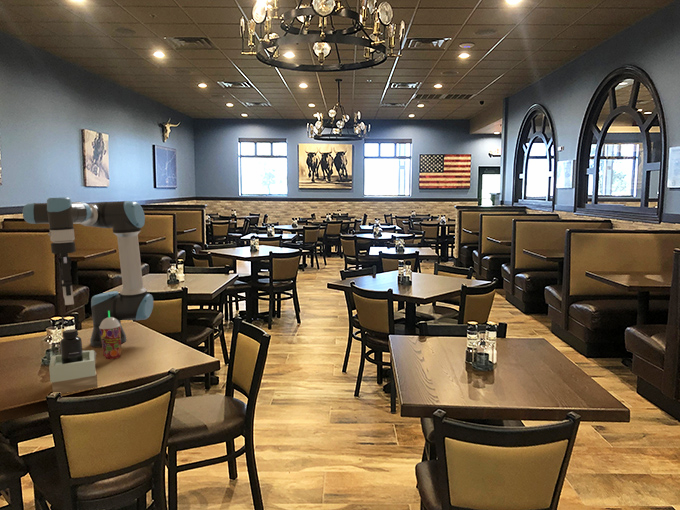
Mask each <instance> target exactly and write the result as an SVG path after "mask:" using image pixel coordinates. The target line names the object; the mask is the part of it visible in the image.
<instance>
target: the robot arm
mask: <svg viewBox="0 0 680 510" xmlns="http://www.w3.org/2000/svg"><path fill="white" fill-rule="evenodd" d="M22 218H23V219H24V221H25V222H26V223H27V224H32V225H33V224H34V225H39V224H40V225H41V224H48V227H49V232H48V233H47V236H49V237H50V242H51V243H50V250H51V253H52V254H54V255H59V257H58V258H57V260H58V262H57V263H58V264H59V270H60V271H61V273H60V274H61V276H60V277H61V283H60V284H61V285H60V286H61V288H62V295H63V299H64V305H65V306H71V305H74V304H75V300H74V290H73V281H72V280H73V277H72V272H71V269H72V258H71V256H69V254H72V253H75V252H76V249H77V247H76V243H75V240H76V238H75V237H76V236H75V229H74V225H77V224H79V225H82V226H84V227H93V228H98V229H99V228H100V229H112V234H113V235H115V236H116V237H117V239H116V240H117V246H118V247H117V248H118V256H119V263H120V264H119V265H120V274H121V283H122V289H121V290H120V292H119V291H117V290H113V291H107V292H102V293H99V294H95V295H93V296H92V297H91V299H90V300H91V301H90V308H91V316H92V325H93V326H92V327H93V328H92V333H91V336H90V341H89V342H90V346H91V347H94V348H102V342H101V335H100V329H99V326H100V324H101V322H102V321H103V320H104V319H105V318H107V317H108V311H110V317H114V318H116V319H117V320H118V321H119V323H120V324H121V344H124V343H125V342H126V341H127V335H126V332H125V329H124V328H123V326H122V323H121V322H122V321H142V320H147V319H149V317H150V316H151V314H152V312H153V309H154V297H153V295H152V294H150V293H148V289H147V288H146V287H145V286H144V281H143V272H142V271H143V270H142V262H141V253H140V244H139V234H140V233H141V232H142V228H143V227H144V226H145V223H146V222H145V221H146V216H145V211H144V209H143V207H142V206H141V204H140V203H139V202H137V201H133V200H132V201H129V200H124V201H102V202H95V203H87V202H83V201H73V202H72V200H71V198H70V197H67V196H66V197H48V198H47V199H46V202H43V203H42V202H33V203H27V204H25V205H24V206H23V208H22Z"/></svg>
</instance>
